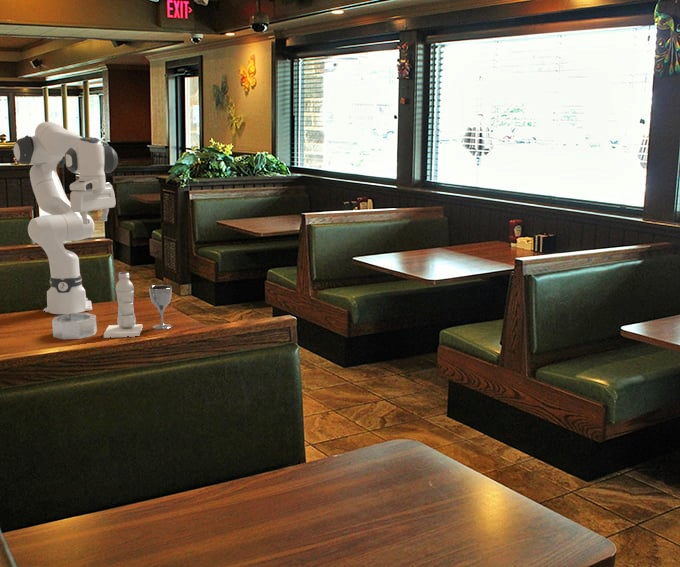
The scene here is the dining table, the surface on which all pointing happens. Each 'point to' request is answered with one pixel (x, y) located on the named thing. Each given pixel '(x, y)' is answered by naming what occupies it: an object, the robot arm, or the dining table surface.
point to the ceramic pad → (123, 331)
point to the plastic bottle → (125, 301)
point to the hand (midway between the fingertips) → (95, 222)
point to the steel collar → (74, 326)
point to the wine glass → (161, 301)
